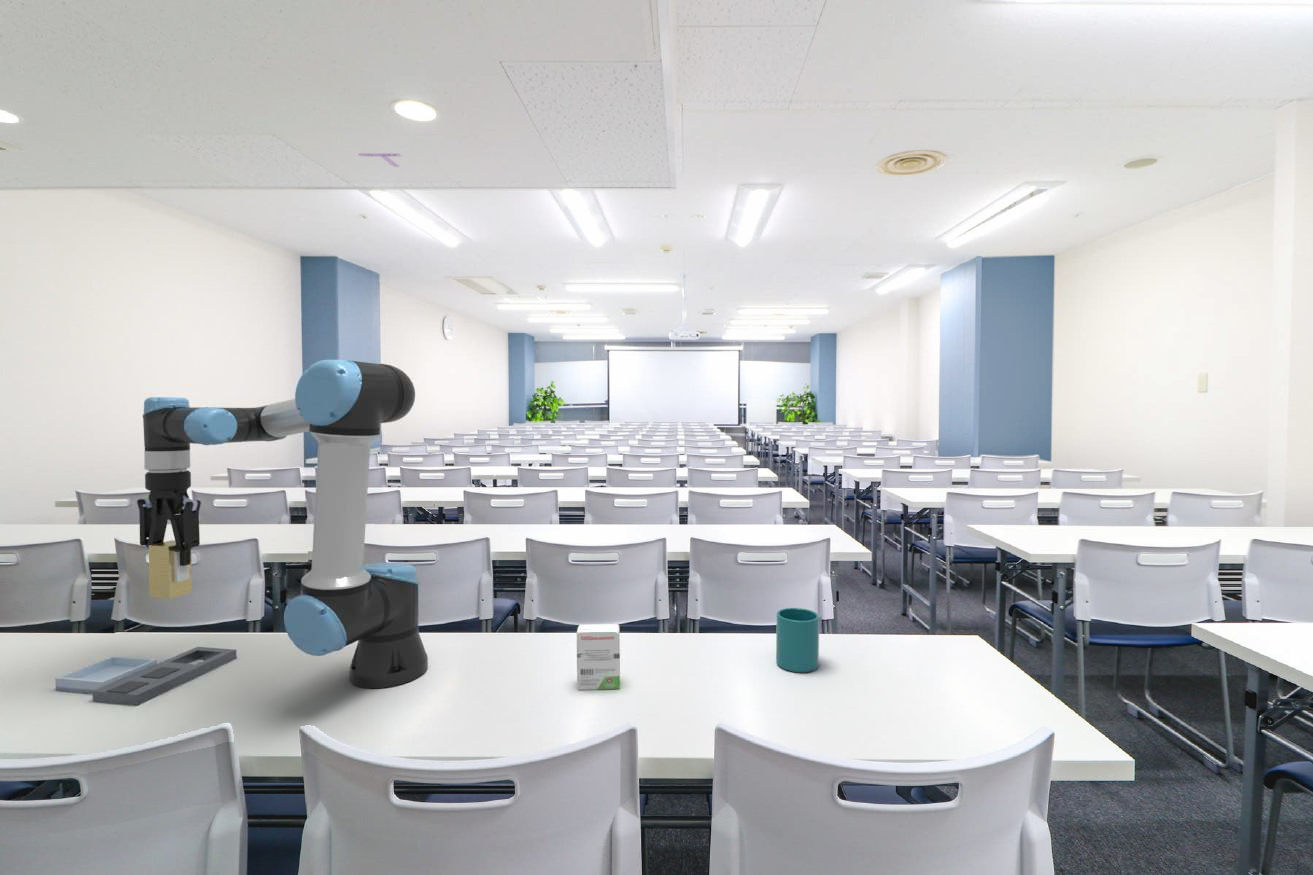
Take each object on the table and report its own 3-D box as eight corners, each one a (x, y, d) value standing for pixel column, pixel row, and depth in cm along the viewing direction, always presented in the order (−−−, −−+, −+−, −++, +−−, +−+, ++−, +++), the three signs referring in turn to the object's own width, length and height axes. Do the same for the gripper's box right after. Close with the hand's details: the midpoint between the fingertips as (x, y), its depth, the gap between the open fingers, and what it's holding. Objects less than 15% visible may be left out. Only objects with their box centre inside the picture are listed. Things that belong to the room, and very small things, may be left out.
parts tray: (157, 670, 129) (157, 659, 129) (102, 694, 118) (101, 682, 118) (113, 667, 130) (113, 655, 130) (55, 690, 120) (55, 678, 119)
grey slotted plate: (236, 658, 135) (236, 649, 135) (137, 705, 114) (137, 694, 113) (197, 655, 137) (197, 646, 137) (92, 701, 115) (92, 690, 115)
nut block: (192, 591, 131) (191, 541, 130) (169, 598, 126) (168, 546, 125) (172, 590, 132) (171, 540, 131) (149, 597, 127) (148, 545, 126)
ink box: (620, 678, 125) (620, 622, 125) (619, 689, 121) (619, 631, 120) (578, 679, 125) (578, 623, 125) (576, 690, 120) (576, 632, 120)
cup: (805, 650, 140) (806, 602, 140) (824, 673, 128) (825, 620, 128) (767, 651, 140) (768, 603, 139) (782, 674, 128) (783, 622, 127)
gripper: (220, 470, 130) (222, 577, 131) (150, 467, 133) (153, 572, 134) (187, 473, 122) (189, 587, 123) (114, 470, 126) (117, 581, 127)
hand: (170, 579), depth 129 cm, fingers closed on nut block, 5 cm apart
